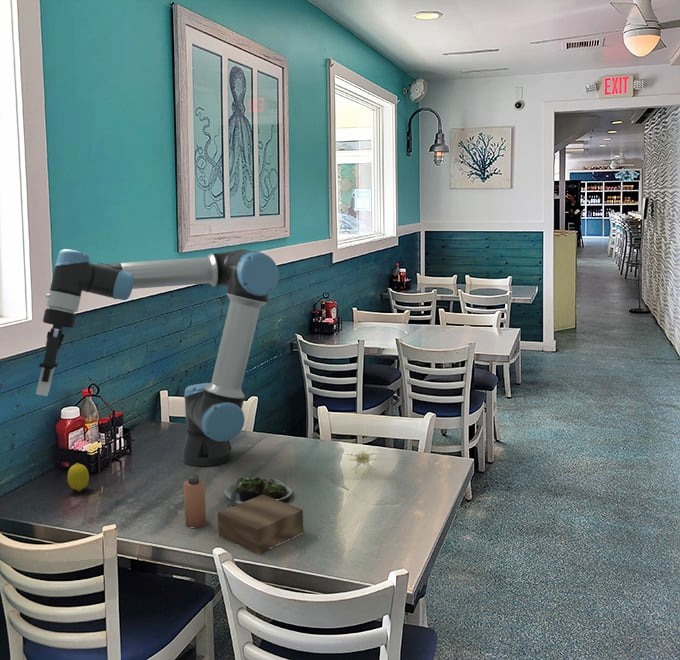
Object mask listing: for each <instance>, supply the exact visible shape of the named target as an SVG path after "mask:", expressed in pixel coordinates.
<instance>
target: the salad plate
mask: <svg viewBox="0 0 680 660" xmlns="http://www.w3.org/2000/svg"><path fill="white" fill-rule="evenodd" d="M224 494H225V496H226V497H227V498H228V499H229V500H228V504H229V505H230V506H235V505H238V504H240V503H243V502H245V501H248V500H250V499H253V498H255V497H258V496H260V495H265V496H268V497H271V498H273V499H279V501H281V502H284V503H286V502H288V501H289V500H290V499H291V498H292V497H293V494H294V493H293V490H292V489H291V488H290V487H288V485H286V484H285V483H283V482H282V481H281V480H279V479H276V478H271V477H270V478H265V477H264V478H261V477H259V476H255V477H251V478H249V476H246V477H245V478H244V477H241V476H240V477H238V478H237V479H236V483H234V484H231V485H229V486H227V487H226V488H225V489H224ZM287 500H288V501H287ZM285 501H286V502H285Z"/></svg>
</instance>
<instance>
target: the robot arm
mask: <svg viewBox="0 0 680 660" xmlns="http://www.w3.org/2000/svg"><path fill="white" fill-rule="evenodd" d="M278 282H279V269H278V266H277V264H276V262H275V260H273V258H272V257H271V256H270V255H267V254H265V253H264V252H261V251H256V250H250V249H249V250H248V249H236V250H231V251H230V250H229V251H223V252H216V253H214V252H213V253H209V254H208V255H207V257H205V256H204V257H191V258H190V257H189V258H177V259H161V260H158V259H157V260H148V261H147V260H145V261H131V262H127V261H126V262H119V263H116V262H115V263H103V262H100V263H99V262H98V263H92V262H90V255H89V254H88V253H86V252H81V251H79V250H75V249H69V248H63V249H61V250H59V253H58V256H57V259H56V262H55V264H54V270H53V274H52V279H51V284H50V289H49V293H46V295H45V298H48V299H47V300H46V301H47V302H46V306H47V307H48V308H46V309H45V310H44V314H43V318H42V323H44V324H49V325H52V327H51V328H50V330H49V331H47V335H46V343H45V347H46V349H45V354H44V359H43V361H42V363H41V362H40V363H39V365H38V368H41V370H40V373H39V379H38V383H37V387H36V391H35V395H39V396H44V397H48V395H49V393H50V389H51V385H52V381H53V375H54V371H55V368H58V365H59V363H56V362H57V361H56V359H57V355H58V350H60V349H61V346H62V343H63V341H64V338H65V334H63V328H68V329H73V328H74V327H75V324H76V319H77V315H76V313H77V312H78V311H79V307H80V302H81V298H82V297H81V296H82V293H83V292H84V293H90V294H95V295H99V296H103V297H106V298H111V299H113V300H120V301H121V300H122V301H126V300H128V299H129V298H130V297H131V294H132V291H133V290H137V289H148V288H149V289H150V288H151V289H152V288H164V287H177V286H191V285H202V284H203V285H204V284H210V285H211V286H212V287H227V291H226V296H227V297H228V299H229V305H228V309H227V313H226V318H225V323H224V326H223V332H222V336H221V339H220V344H219V349H218V352H217V357H216V361H215V366H214V369H213V374H212V377H211V382H205V383H197V384H191V385H188V386H187V387H185V389H184V396H183V397H184V406H185V407H184V409H185V427H186V437H185V442H184V445H183V449H182V451H181V460H182V462H183V463H184V464H185V465H189V466H194V467H211V466H212V467H213V466H218V465H221V464H225V463H227V462H229V461H231V459H232V458H233V456H234V455H233V448H232V446H231V443H230V440H233V439H234V438H236V437H237V436H238V435H239V434H240V433H241V432H242V430H243V428H244V425H245V414H244V411H243V405H244V401H245V394H244V393H243V391H242V385H243V382H244V377H245V373H246V368H247V364H248V362H249V361H248V360H249V357H250V352H251V349H252V348H251V347H252V344H253V339H254V336H255V331H256V327H257V322H258V319H259V313H260V310H261V308H262V307H264V306H265V305H266V304H268V299H269V296H270V293H271V292H273V290H274V289H275V288H276V287H277V284H278Z"/></svg>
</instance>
